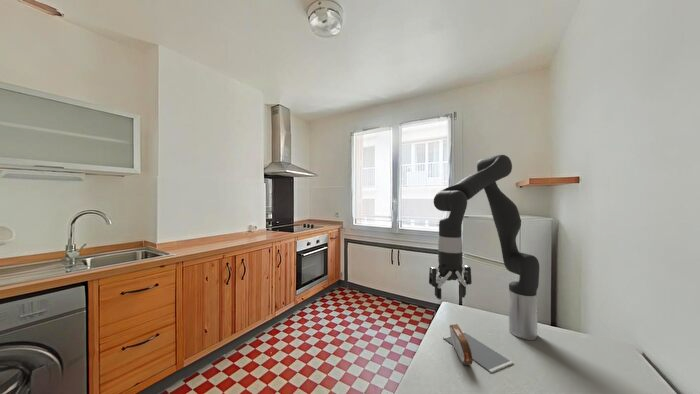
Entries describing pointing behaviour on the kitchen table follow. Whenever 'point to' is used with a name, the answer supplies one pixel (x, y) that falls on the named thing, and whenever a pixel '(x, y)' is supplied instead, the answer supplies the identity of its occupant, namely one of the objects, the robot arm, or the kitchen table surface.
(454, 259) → the robot arm
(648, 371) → the kitchen table surface
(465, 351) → the tin
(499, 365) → the mat
